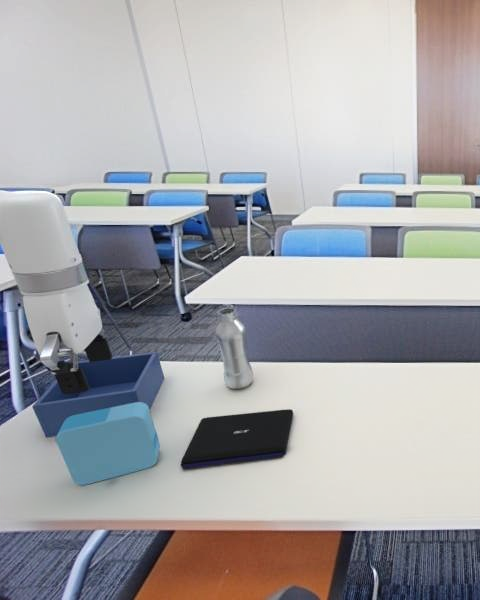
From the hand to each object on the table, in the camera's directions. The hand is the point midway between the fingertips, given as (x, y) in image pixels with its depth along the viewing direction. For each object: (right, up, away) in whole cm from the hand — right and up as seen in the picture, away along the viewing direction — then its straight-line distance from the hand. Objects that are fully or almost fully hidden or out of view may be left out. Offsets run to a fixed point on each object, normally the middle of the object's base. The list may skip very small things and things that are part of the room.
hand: (89, 374), depth 66 cm
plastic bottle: (+7, -9, +33) cm, 35 cm away
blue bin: (-17, -11, +24) cm, 31 cm away
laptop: (+17, -17, +16) cm, 28 cm away
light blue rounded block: (-1, -19, +8) cm, 21 cm away
